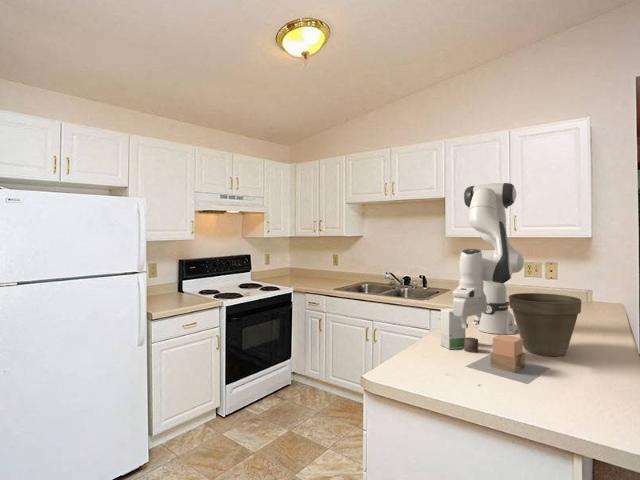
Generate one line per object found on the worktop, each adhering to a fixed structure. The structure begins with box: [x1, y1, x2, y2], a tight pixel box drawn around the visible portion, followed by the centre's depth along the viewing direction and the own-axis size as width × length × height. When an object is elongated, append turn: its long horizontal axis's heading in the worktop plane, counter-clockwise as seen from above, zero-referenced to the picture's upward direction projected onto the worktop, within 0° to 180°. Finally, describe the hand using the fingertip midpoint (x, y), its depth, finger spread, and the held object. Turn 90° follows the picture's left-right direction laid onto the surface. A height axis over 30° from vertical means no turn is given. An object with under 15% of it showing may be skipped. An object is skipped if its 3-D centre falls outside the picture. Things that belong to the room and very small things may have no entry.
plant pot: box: [508, 292, 582, 357], centre depth 149 cm, size 25×25×22 cm
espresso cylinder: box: [463, 337, 479, 354], centre depth 145 cm, size 5×5×6 cm
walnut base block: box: [490, 351, 526, 373], centre depth 127 cm, size 8×8×5 cm
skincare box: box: [439, 307, 466, 350], centre depth 155 cm, size 8×7×16 cm
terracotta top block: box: [492, 334, 524, 357], centre depth 127 cm, size 7×7×5 cm
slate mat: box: [464, 353, 551, 385], centre depth 127 cm, size 20×20×2 cm
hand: (470, 326), depth 144 cm, fingers open, 8 cm apart
